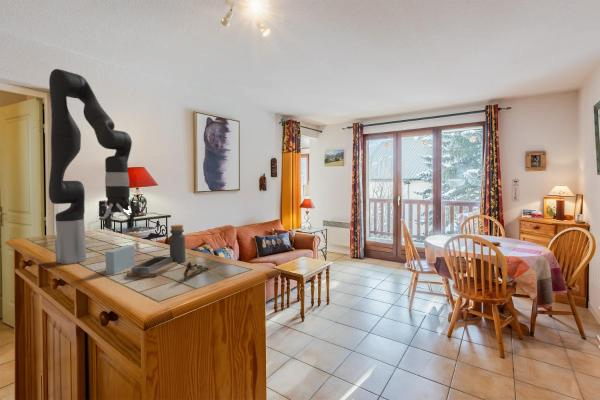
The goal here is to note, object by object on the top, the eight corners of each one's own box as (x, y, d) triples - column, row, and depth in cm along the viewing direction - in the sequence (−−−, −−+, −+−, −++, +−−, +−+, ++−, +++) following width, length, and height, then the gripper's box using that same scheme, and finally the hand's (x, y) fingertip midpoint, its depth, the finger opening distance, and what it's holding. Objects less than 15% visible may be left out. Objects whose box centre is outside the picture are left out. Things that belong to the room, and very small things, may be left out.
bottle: (188, 260, 125) (187, 224, 124) (181, 263, 119) (180, 226, 118) (174, 259, 126) (173, 224, 125) (167, 263, 120) (166, 226, 119)
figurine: (198, 279, 111) (180, 282, 96) (192, 271, 112) (173, 273, 97) (211, 268, 112) (194, 270, 97) (204, 260, 112) (187, 261, 98)
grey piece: (125, 276, 104) (125, 267, 104) (151, 264, 119) (151, 256, 119) (155, 277, 103) (155, 268, 102) (178, 265, 118) (177, 257, 117)
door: (106, 273, 107) (105, 252, 106) (127, 265, 118) (126, 245, 117) (114, 274, 107) (113, 252, 106) (134, 265, 118) (134, 245, 117)
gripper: (91, 185, 107) (94, 229, 108) (128, 185, 106) (130, 230, 107) (107, 184, 115) (109, 226, 116) (142, 184, 113) (143, 227, 114)
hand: (119, 228), depth 111 cm, fingers open, 8 cm apart
